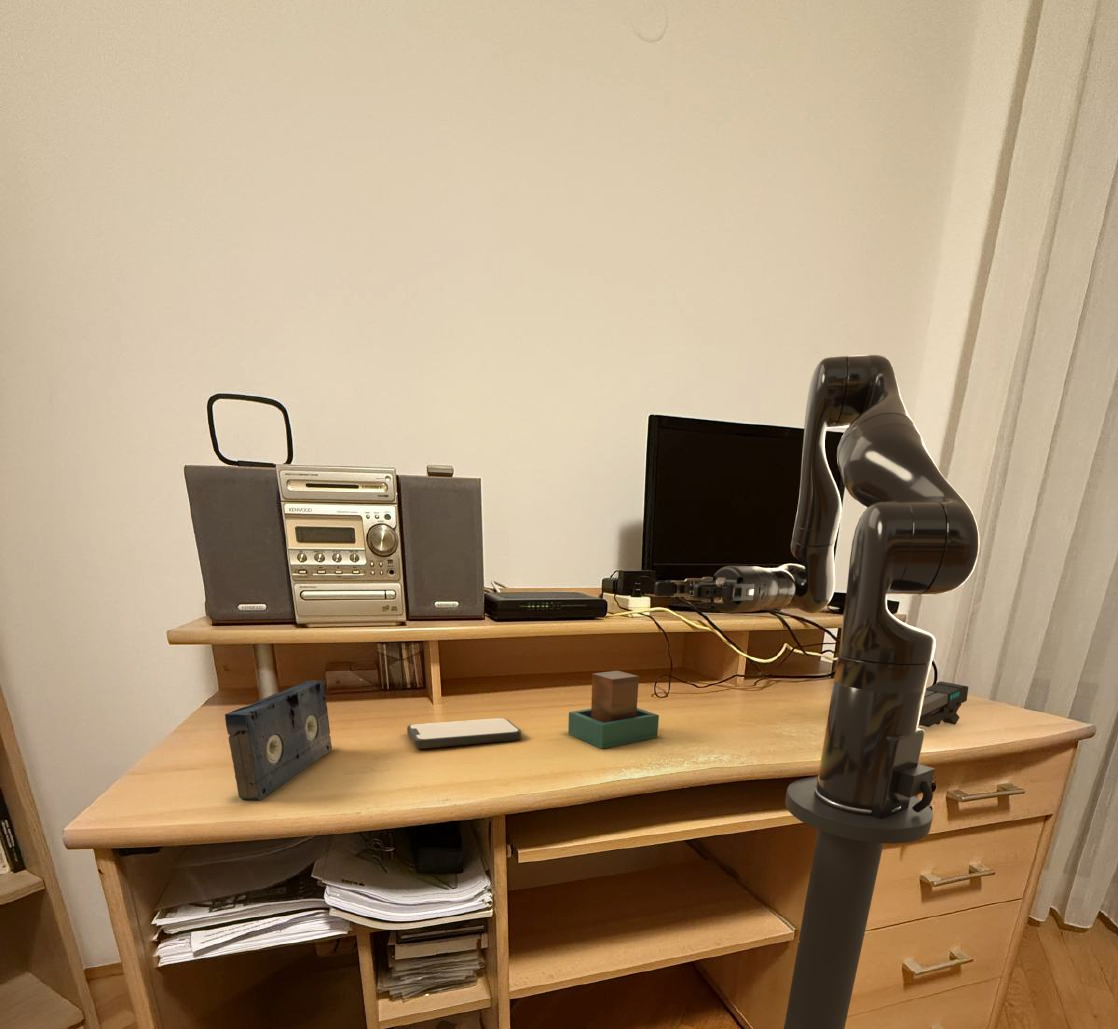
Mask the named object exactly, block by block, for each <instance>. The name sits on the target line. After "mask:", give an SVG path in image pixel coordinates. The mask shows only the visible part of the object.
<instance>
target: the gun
mask: <svg viewBox="0 0 1118 1029" xmlns="http://www.w3.org/2000/svg"><path fill="white" fill-rule="evenodd" d="M968 694H969V686H967V685H962V684H957V683H952V682H947V681H937V682H936V683H934V684H932V685H930V686H927V687H926V691H925V696H924V701H923V706H922V710H921V715H920V720H919V724H918V727H919V726H922V727H926V728H931V727H932V726H934V725H937V726H939V725H940V724H941V722H943V723H946V724H950V725H954V726H955V725H957V723H958V721H959V720H960V718H961V717H960V716H959V714H958V710H959V709H960V708H961V706H962V704H964V703H966V702H967V701H968Z"/></svg>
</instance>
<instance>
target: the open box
mask: <svg viewBox="0 0 1118 1029" xmlns="http://www.w3.org/2000/svg"><path fill="white" fill-rule="evenodd" d="M659 722H660V715H659V714H657V713H654V712H651V711H648V710H645V709H642V708H639V707H637V715H636V717H634V718H628V719H622V720H617V721H611V722H606V723H603V722H600V721H598V720H595V719H593V718H591V708H585V709H580V710H574V711H569V712H568V724H567V725H568V731H567V734H568V735H569V736H571V737H574V738H576V739H578V740H580V741H582V742H585V743H587V744H590V745H592V746H594V747H597V748H598V749H601V750H604V749H608V748H613V747H617V746H622V745H627V744H632V743H636V742H637V743H638V742H642V741H646V740H651V739H656V738H658V736H659Z"/></svg>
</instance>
